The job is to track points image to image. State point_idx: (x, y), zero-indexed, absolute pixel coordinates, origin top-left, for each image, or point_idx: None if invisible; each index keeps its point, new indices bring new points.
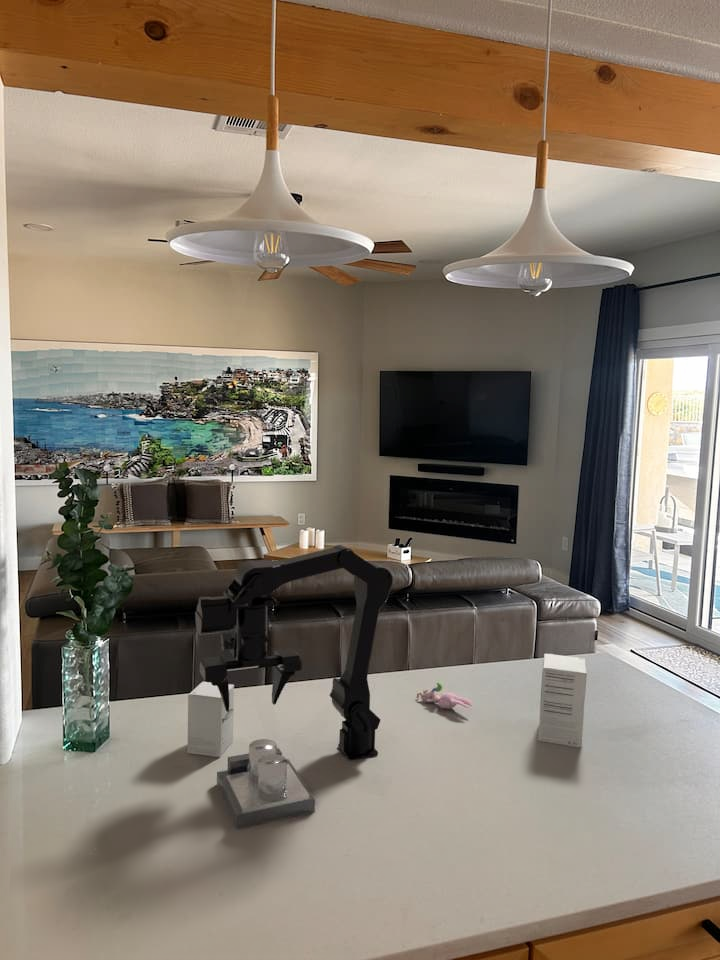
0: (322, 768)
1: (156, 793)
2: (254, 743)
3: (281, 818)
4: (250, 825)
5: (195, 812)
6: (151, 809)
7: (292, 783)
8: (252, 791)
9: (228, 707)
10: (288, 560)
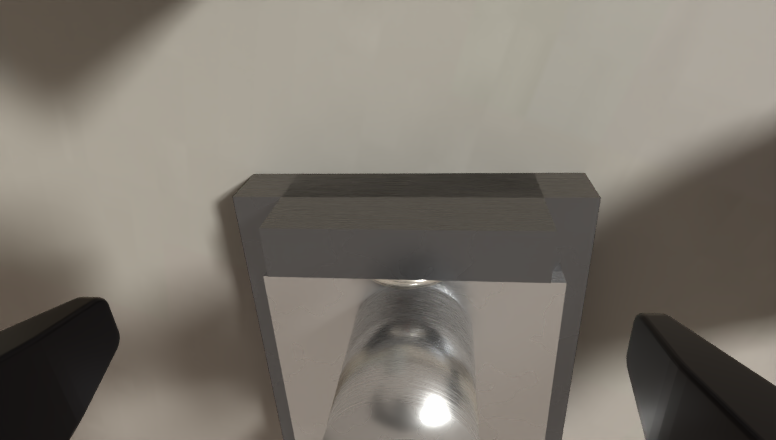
0: (750, 206)
1: (23, 158)
2: (358, 426)
3: None
4: None
5: (178, 310)
6: (32, 249)
7: (513, 408)
8: None
9: (87, 398)
10: None
